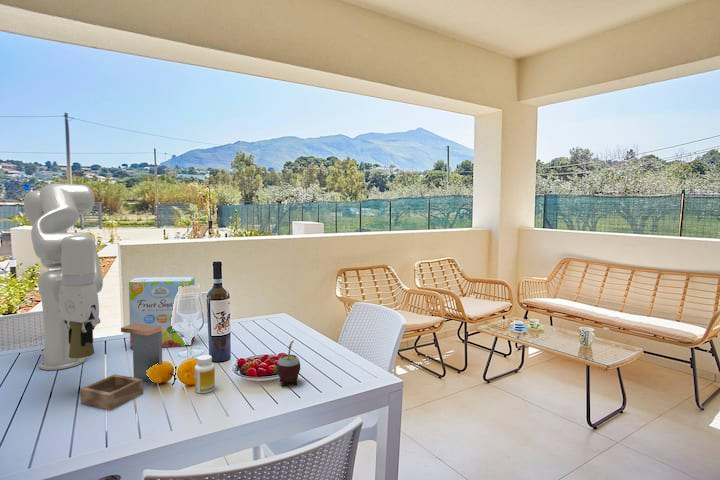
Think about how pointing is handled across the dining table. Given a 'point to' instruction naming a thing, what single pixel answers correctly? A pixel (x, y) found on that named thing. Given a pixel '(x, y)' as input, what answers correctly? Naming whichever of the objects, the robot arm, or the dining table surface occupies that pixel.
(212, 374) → the supplement bottle
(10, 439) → the dining table surface
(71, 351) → the cork
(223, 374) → the dining table surface
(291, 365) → the mate gourd
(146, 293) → the snack box
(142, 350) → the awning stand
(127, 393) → the socket block
